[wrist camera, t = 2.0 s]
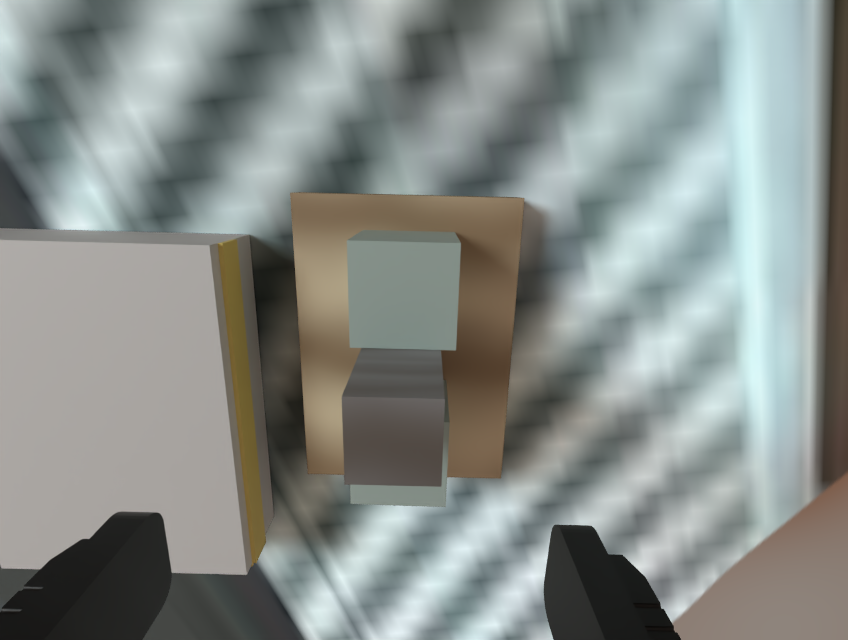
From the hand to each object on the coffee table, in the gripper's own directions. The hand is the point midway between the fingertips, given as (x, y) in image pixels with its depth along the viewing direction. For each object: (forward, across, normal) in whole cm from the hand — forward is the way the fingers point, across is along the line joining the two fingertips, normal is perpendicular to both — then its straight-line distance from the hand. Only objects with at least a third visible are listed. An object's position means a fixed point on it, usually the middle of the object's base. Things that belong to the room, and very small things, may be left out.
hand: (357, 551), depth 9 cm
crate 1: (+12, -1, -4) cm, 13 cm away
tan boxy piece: (+14, -1, 0) cm, 14 cm away
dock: (+14, +13, +3) cm, 19 cm away
